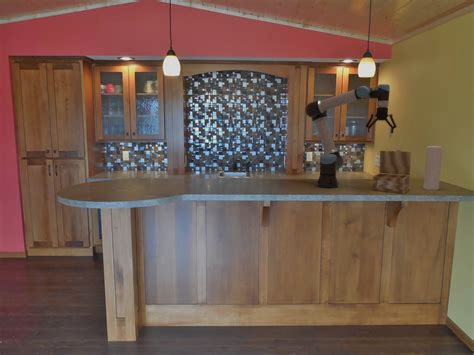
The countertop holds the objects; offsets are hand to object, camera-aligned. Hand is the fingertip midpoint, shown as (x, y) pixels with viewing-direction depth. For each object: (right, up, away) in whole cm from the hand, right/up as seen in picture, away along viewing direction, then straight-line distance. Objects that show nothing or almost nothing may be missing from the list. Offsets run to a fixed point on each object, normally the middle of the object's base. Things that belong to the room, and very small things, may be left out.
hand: (379, 137), depth 245 cm
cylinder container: (+35, -36, -2) cm, 51 cm away
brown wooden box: (+5, -37, -5) cm, 38 cm away
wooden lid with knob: (+9, -18, -2) cm, 20 cm away
